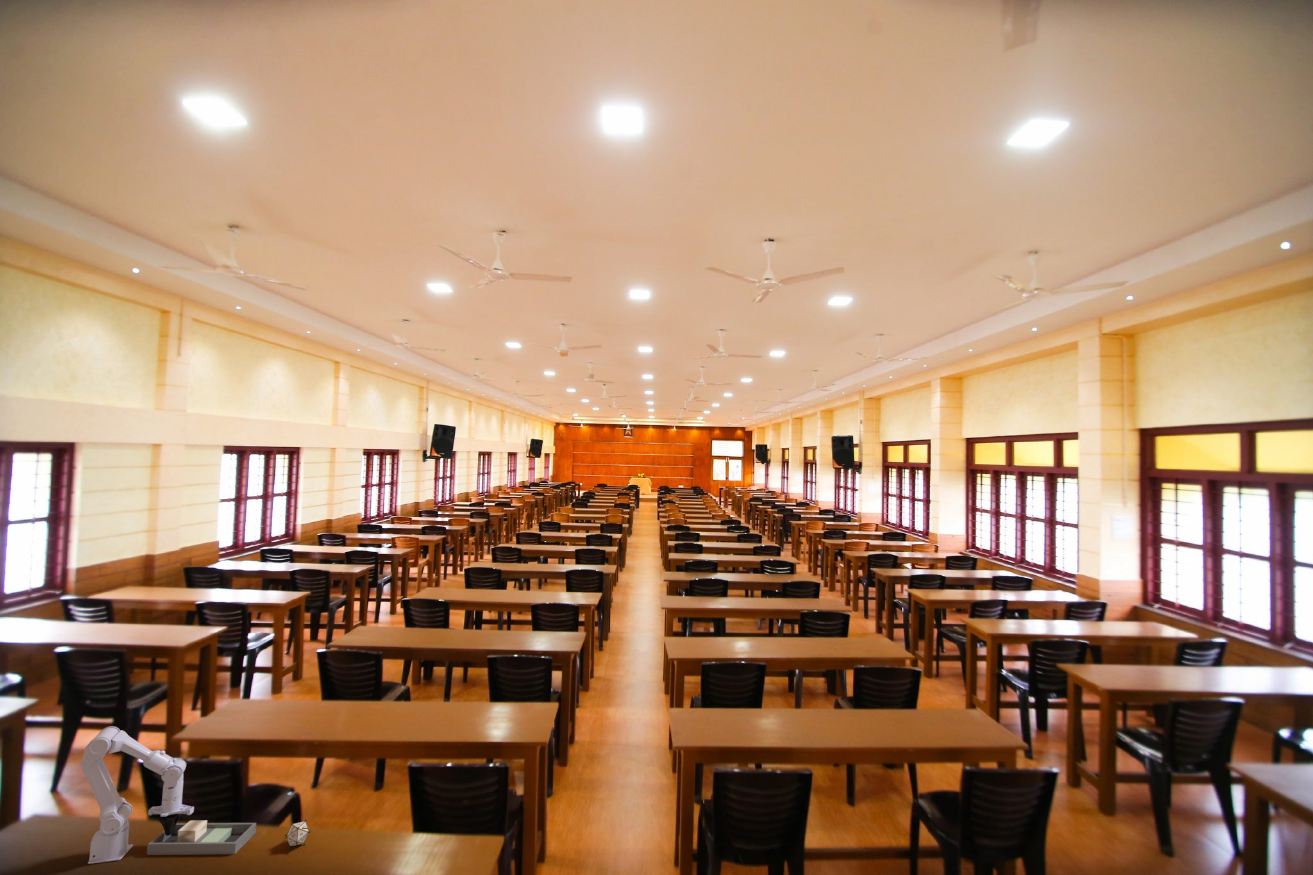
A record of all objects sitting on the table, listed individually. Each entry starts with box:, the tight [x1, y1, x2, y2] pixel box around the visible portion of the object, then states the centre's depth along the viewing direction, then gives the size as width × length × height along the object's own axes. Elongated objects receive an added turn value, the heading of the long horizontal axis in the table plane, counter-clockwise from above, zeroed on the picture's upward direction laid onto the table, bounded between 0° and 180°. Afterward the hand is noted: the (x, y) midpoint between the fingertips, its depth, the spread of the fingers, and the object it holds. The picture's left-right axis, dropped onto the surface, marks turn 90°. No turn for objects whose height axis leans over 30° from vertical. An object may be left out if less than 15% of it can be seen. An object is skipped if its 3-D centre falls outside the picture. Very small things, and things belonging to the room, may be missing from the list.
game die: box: [284, 818, 312, 850], centre depth 214 cm, size 9×8×10 cm
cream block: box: [177, 819, 208, 842], centre depth 212 cm, size 6×6×4 cm
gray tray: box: [146, 822, 257, 856], centre depth 212 cm, size 30×12×4 cm, turn 94°
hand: (169, 833), depth 211 cm, fingers closed
